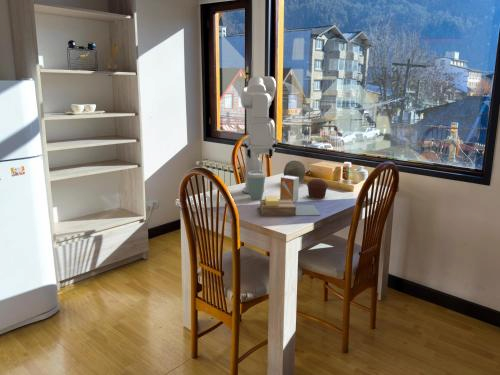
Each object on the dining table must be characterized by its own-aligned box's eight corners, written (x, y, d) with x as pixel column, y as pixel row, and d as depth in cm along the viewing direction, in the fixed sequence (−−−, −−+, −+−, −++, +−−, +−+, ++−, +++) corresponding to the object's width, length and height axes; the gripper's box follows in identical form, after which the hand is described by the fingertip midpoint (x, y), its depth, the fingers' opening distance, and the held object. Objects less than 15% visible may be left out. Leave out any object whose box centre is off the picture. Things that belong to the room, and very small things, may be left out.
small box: (279, 200, 226) (280, 177, 223) (285, 197, 231) (286, 175, 228) (292, 202, 222) (293, 179, 218) (298, 200, 227) (299, 177, 223)
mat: (290, 206, 216) (290, 205, 215) (313, 205, 216) (313, 205, 216) (296, 215, 200) (296, 215, 200) (320, 215, 201) (320, 214, 201)
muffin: (303, 197, 232) (304, 180, 230) (310, 193, 242) (311, 176, 239) (323, 200, 227) (324, 182, 224) (330, 195, 236) (331, 178, 234)
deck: (260, 207, 213) (260, 199, 213) (290, 206, 215) (291, 199, 214) (262, 215, 200) (262, 207, 199) (295, 215, 201) (295, 207, 200)
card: (264, 200, 210) (264, 196, 210) (276, 200, 211) (276, 196, 210) (266, 206, 202) (266, 201, 201) (278, 205, 202) (278, 201, 201)
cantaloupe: (278, 183, 264) (279, 159, 261) (296, 180, 271) (297, 158, 267) (290, 188, 252) (291, 163, 249) (309, 185, 259) (310, 161, 255)
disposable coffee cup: (263, 201, 223) (264, 174, 219) (244, 200, 225) (244, 173, 221) (266, 196, 233) (267, 170, 229) (248, 195, 235) (248, 169, 231)
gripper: (277, 120, 195) (276, 156, 199) (241, 120, 193) (240, 156, 197) (280, 121, 187) (279, 159, 191) (241, 121, 186) (241, 159, 190)
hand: (259, 157), depth 194 cm, fingers open, 9 cm apart
